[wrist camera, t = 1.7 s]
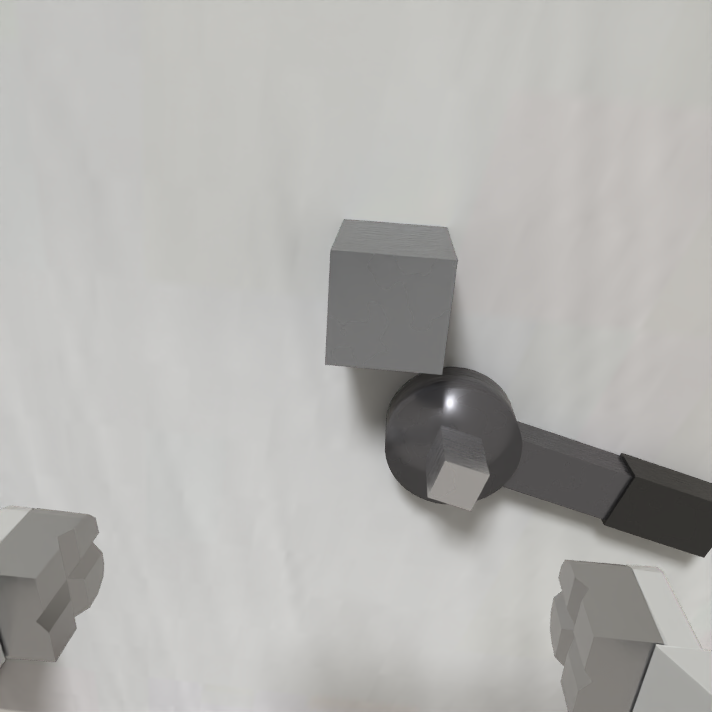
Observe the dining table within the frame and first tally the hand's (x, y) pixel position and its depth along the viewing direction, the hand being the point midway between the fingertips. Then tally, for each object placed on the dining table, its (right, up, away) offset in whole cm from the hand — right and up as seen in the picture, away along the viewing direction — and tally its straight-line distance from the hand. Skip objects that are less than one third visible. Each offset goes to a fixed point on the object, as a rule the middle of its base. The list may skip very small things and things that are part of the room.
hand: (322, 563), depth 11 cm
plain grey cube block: (+2, +8, +20) cm, 21 cm away
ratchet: (+11, -2, +23) cm, 26 cm away
